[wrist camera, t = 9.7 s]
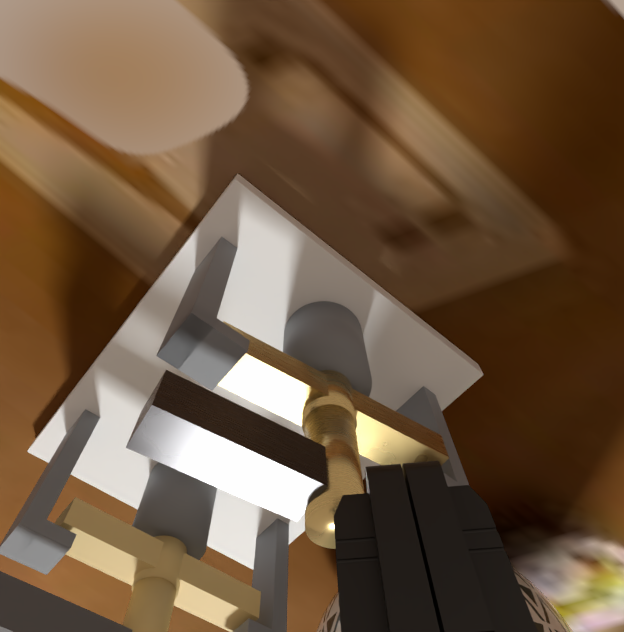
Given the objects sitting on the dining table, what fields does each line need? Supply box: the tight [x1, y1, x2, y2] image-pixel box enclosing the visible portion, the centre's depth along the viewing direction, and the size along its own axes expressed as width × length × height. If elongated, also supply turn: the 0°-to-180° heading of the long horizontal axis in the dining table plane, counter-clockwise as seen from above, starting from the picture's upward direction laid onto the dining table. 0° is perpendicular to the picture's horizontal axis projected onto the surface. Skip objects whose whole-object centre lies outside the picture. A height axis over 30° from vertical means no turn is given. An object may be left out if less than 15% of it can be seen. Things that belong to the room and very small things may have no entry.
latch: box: [126, 321, 449, 549], centre depth 22 cm, size 14×2×8 cm, turn 58°
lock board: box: [0, 173, 484, 632], centre depth 27 cm, size 22×18×14 cm
